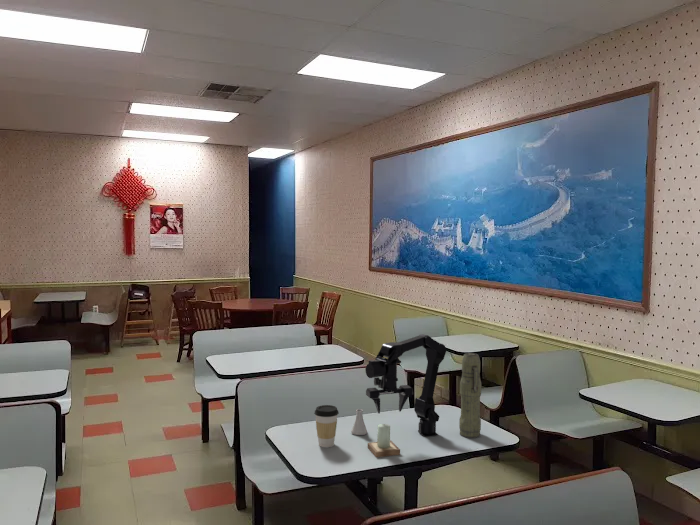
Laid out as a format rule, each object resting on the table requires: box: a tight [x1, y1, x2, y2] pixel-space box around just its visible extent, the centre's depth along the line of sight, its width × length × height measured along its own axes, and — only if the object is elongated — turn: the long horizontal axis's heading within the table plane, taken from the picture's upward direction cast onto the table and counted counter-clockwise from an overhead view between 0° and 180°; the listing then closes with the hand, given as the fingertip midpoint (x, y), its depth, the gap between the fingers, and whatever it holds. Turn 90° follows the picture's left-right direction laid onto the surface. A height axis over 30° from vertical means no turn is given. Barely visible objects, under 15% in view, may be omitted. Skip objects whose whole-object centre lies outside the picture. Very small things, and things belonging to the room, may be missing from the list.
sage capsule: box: [376, 423, 391, 448], centre depth 223 cm, size 5×5×8 cm
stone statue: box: [458, 352, 482, 439], centre depth 241 cm, size 9×12×35 cm
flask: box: [350, 408, 368, 436], centre depth 243 cm, size 7×7×10 cm
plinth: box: [367, 439, 401, 458], centre depth 223 cm, size 10×10×2 cm
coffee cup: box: [313, 404, 339, 448], centre depth 229 cm, size 10×10×15 cm
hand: (389, 412), depth 230 cm, fingers open, 9 cm apart
